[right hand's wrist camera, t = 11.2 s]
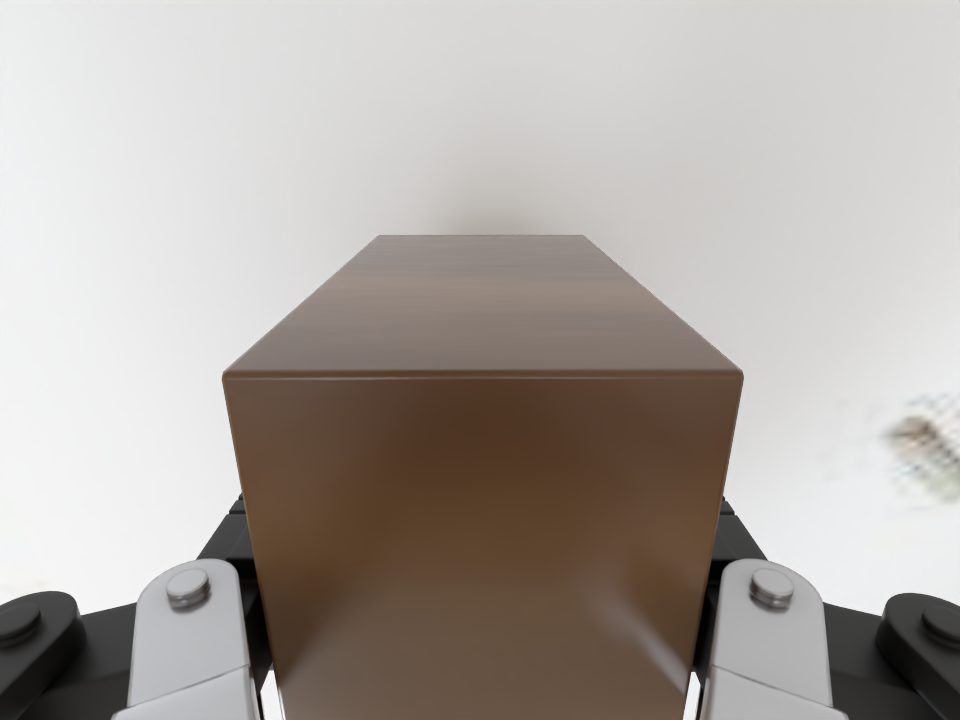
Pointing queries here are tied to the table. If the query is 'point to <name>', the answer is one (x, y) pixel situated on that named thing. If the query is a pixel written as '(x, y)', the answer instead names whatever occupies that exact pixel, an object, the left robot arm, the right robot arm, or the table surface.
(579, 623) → the box
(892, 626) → the right robot arm
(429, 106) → the table surface
